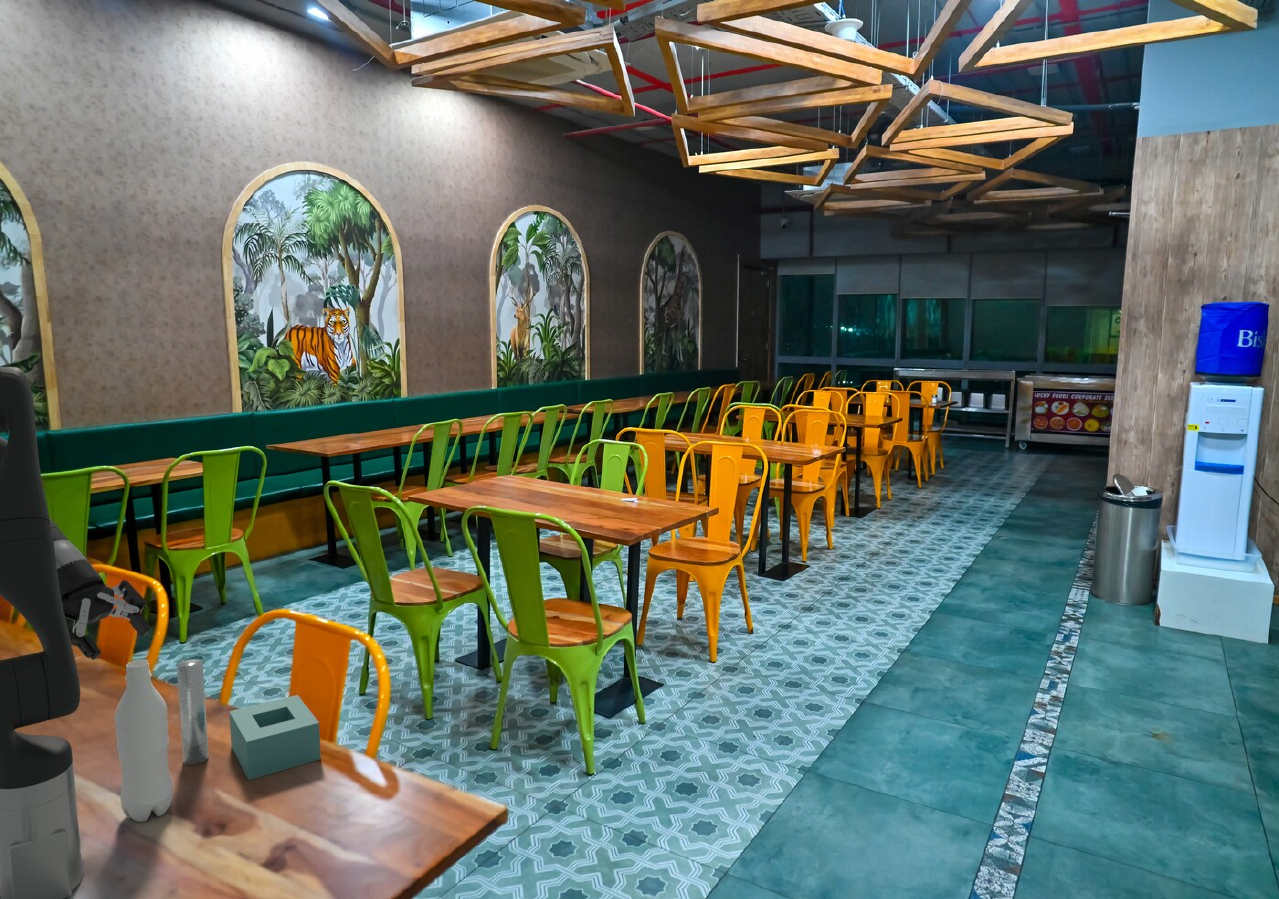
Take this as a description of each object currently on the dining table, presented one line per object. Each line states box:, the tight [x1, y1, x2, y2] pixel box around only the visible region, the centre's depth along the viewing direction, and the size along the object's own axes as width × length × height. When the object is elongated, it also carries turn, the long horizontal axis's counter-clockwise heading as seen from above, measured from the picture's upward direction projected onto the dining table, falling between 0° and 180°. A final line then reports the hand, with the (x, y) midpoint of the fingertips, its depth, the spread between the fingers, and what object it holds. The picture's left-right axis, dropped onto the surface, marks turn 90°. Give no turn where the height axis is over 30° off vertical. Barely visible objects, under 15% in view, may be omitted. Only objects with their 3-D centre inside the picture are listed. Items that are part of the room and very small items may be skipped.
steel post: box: [176, 658, 210, 766], centre depth 147 cm, size 4×4×18 cm
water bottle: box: [113, 659, 174, 823], centre depth 130 cm, size 7×7×25 cm
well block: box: [229, 694, 322, 781], centre depth 150 cm, size 14×12×7 cm
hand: (122, 644), depth 138 cm, fingers open, 8 cm apart
